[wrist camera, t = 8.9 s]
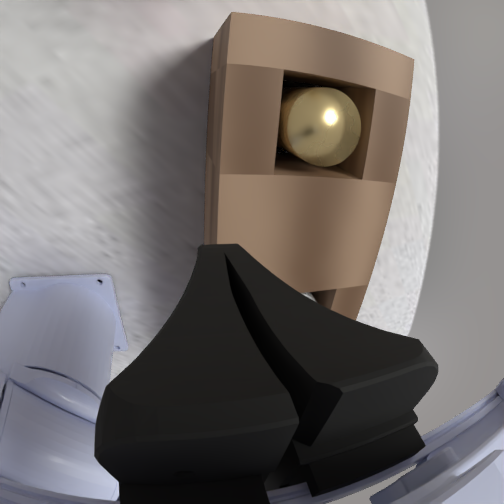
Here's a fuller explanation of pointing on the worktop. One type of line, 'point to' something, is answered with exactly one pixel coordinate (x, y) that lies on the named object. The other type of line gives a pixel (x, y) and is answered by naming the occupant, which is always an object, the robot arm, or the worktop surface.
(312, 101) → the brass peg
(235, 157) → the walnut peg board
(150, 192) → the worktop surface
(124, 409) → the robot arm
